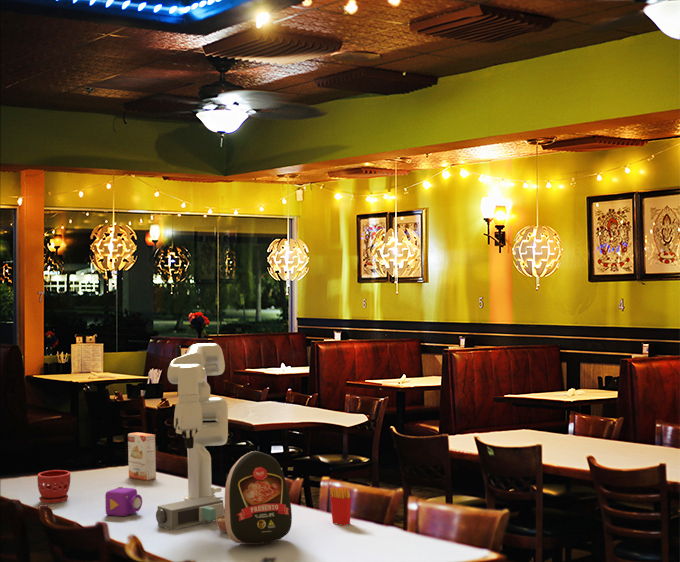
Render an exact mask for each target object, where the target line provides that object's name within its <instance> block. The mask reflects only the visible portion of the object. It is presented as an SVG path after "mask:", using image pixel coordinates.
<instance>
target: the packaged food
mask: <svg viewBox="0 0 680 562" xmlns="http://www.w3.org/2000/svg"><path fill="white" fill-rule="evenodd" d="M287 485H288V484H287V481H286V477H285V475H284V471H283V469H282V467H281V465H280V464H279V462H278V461H277V459H276V458H275V457H273V456H272V455H270V454H268V453H264V452H261V451H257V450H254V451H250V452H247V453H246V454H244V455H243V456H241V457H240V458H239V459H238V460H237V461H236V462H235V463H234V464H233V465H232V467H231V468H230V470H229V473H228V476H227V477H226V482H225V489H224V516H225V524H226V530H227V533H226V534H227V536H228V537H229V538H230V541H232V542H233V543H236V544H240V545H243V544H245V545H247V544H254V545H257V544H270V543H273V542H275V541H278V540H282V539H283V538H284V537H286V536H287V535H288V534H289V532H290V531H291V527H292V523H293V522H292V521H293V515H292V514H293V513H292V504H291V498H290V493H289V489H288V486H287Z"/></svg>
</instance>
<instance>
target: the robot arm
mask: <svg viewBox="0 0 680 562" xmlns="http://www.w3.org/2000/svg"><path fill="white" fill-rule="evenodd" d="M225 367H226V363H225V358H224V353H223V349H222V348H221V346H220V345H219V344H218V343H214V342H212V343H211V342H209V343H195V344H191V345H190V346H189V347H188V348H187V350H186V353H185V354H184V355H181V356H179V357H176V358H174V359H173V360H171V362H170V363H169V366H168V368H167V380H168V382H169V383H170V384H172V385H177V392H178V393H177V394H178V395H177V403H176V404H175V408H174V417H173V427H174V429H175V433H176V434H179V435H181V436H182V437H183V439H184V448H185V449H186V450H187V481H188V483H187V484H188V485H187V487H188V488H187V494H188V495H186V496H185V497H184V501H186V500H191V499H197V498H202V497H207V496H209V497H213V498H216V495H215V494H216V493H221V492H222V490H223V489H222V487H221V486H218V487H215V486H212V457H211V454H210V452H209V451H208V450H207V448H206V447H207V446H209V447H212V446H213V447H215V446H223V445H225V444H227V442H228V437H229V436H228V435H229V429H228V428H229V427H228V426H229V425H228V424H229V408H228V403H227V400H226V399H225V398H224V397H211V386H210V384H209V382H207V381H206V376H219V375H222V374H224V372H225V369H226V368H225ZM203 421H215V422H203Z"/></svg>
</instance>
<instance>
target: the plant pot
mask: <svg viewBox="0 0 680 562" xmlns="http://www.w3.org/2000/svg"><path fill="white" fill-rule="evenodd" d="M43 484H44V485H43ZM70 486H71V471H68V470H64V469H63V470H61V469H52V470H46V471H42V472H39V473H38V474H37V488H38V493H39V495H40V496H39V501H40V502H41V503H43V504H60V503H63V502H66V501H67V500H68V499H69V494H68V492H69V490H70Z"/></svg>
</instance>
